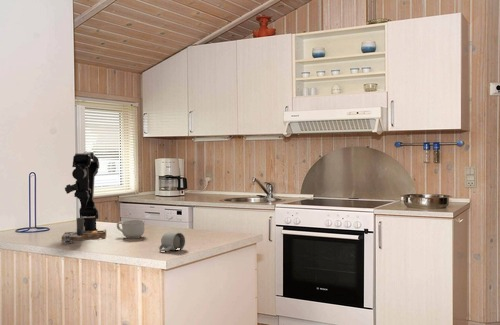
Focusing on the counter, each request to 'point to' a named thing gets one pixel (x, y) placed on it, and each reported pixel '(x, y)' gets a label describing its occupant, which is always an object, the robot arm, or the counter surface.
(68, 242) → the pivot post
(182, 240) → the ceramic mug
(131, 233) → the teacup
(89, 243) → the counter surface
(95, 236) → the lane
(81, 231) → the lever
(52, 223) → the counter surface
